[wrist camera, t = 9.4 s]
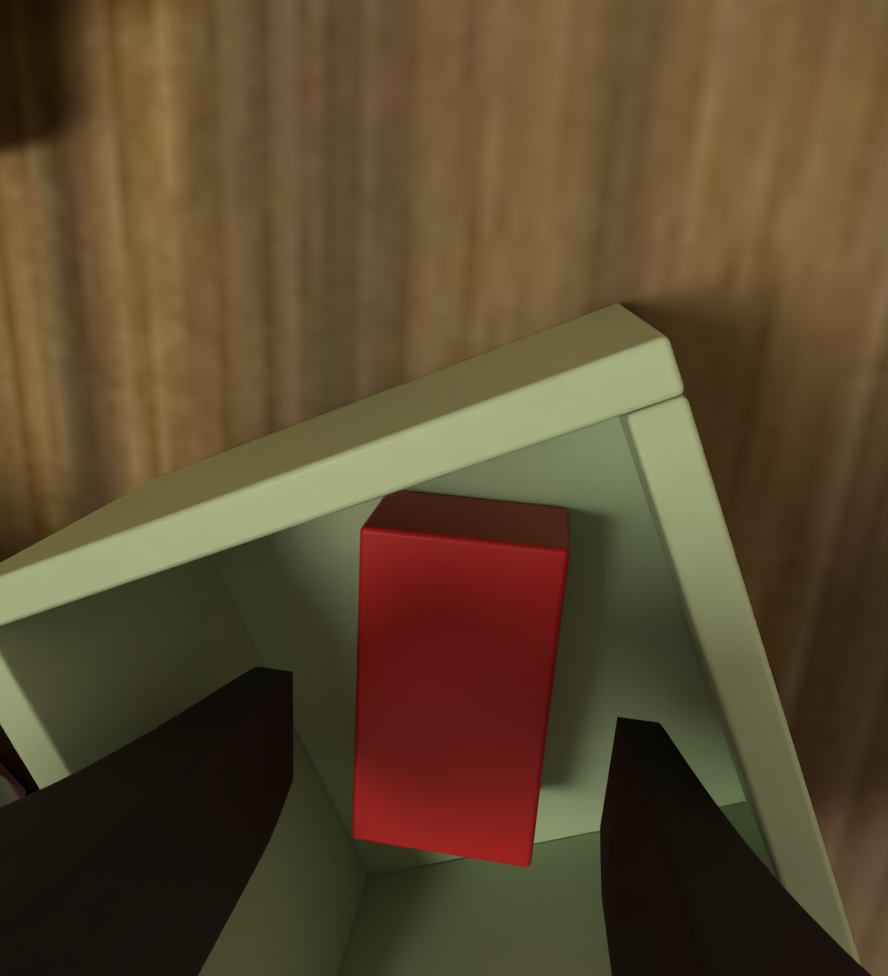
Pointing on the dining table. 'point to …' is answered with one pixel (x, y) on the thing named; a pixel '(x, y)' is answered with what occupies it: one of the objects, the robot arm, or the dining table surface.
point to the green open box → (333, 649)
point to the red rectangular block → (456, 672)
